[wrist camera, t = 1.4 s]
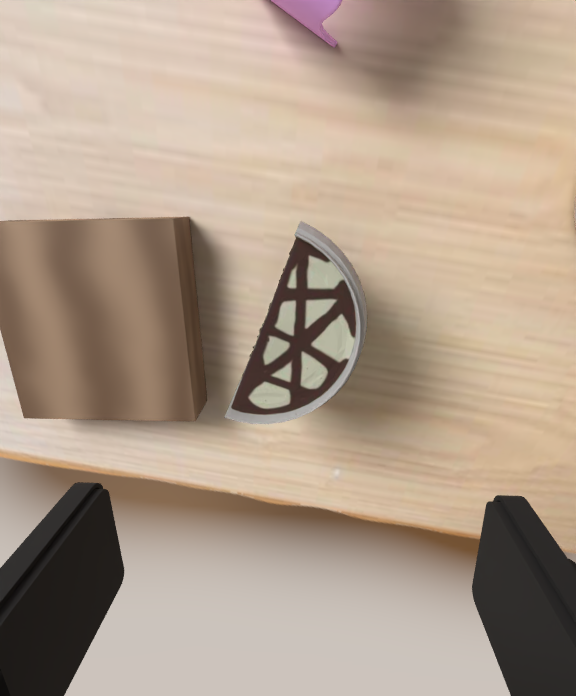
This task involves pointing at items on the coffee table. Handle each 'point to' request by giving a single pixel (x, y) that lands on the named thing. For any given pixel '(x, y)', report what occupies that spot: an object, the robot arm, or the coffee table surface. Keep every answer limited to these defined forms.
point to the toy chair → (311, 14)
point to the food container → (304, 335)
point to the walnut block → (102, 318)
